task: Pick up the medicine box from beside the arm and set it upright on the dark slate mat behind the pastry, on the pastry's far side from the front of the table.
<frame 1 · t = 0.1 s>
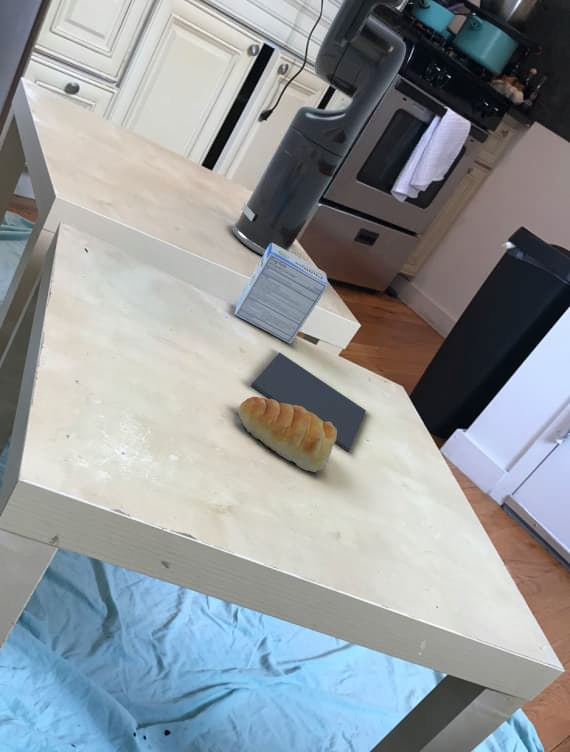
hand: (296, 17, 64), 29 cm above the table, tool pointing down, fingers open, 8 cm apart
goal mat: (310, 400, 81), on the table
medicine box: (261, 325, 92), on the table
pastry: (282, 445, 70), on the table
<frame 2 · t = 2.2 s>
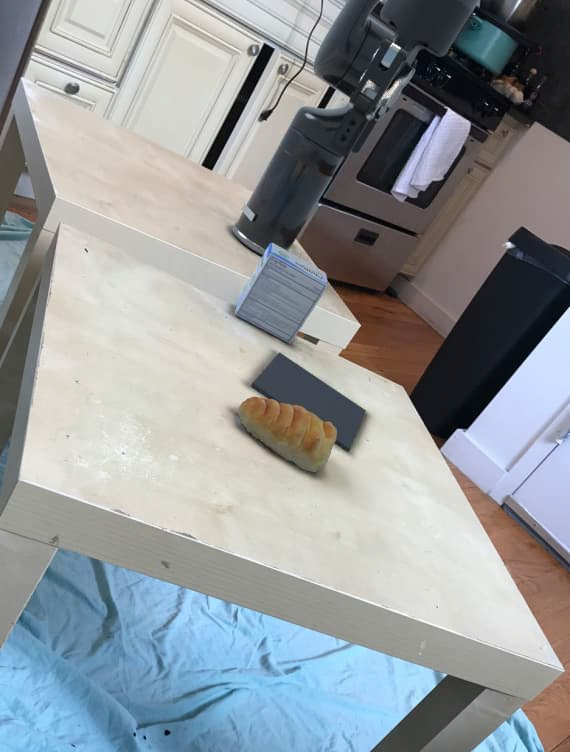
hand: (343, 150, 78), 21 cm above the table, tool pointing down, fingers open, 8 cm apart
nothing on the table moved.
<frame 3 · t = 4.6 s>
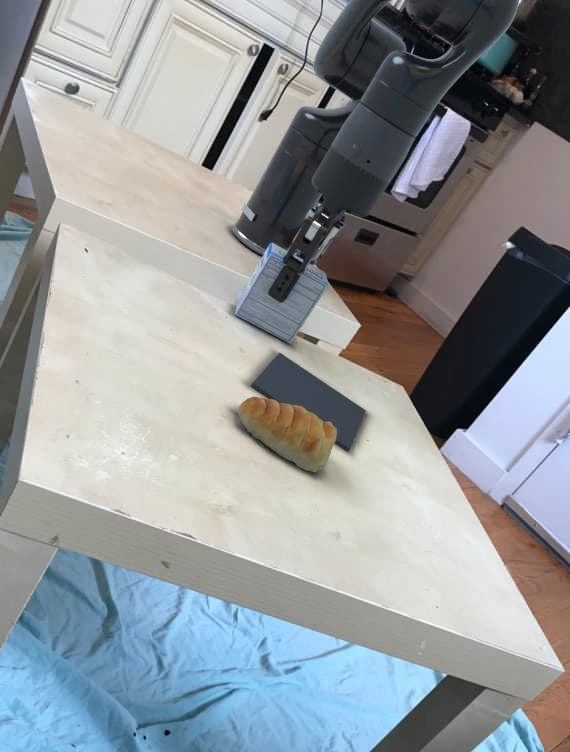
hand: (281, 293, 89), 4 cm above the table, tool pointing down, fingers closed on medicine box, 5 cm apart
medicine box: (261, 325, 92), on the table, touching gripper
everything else where it was.
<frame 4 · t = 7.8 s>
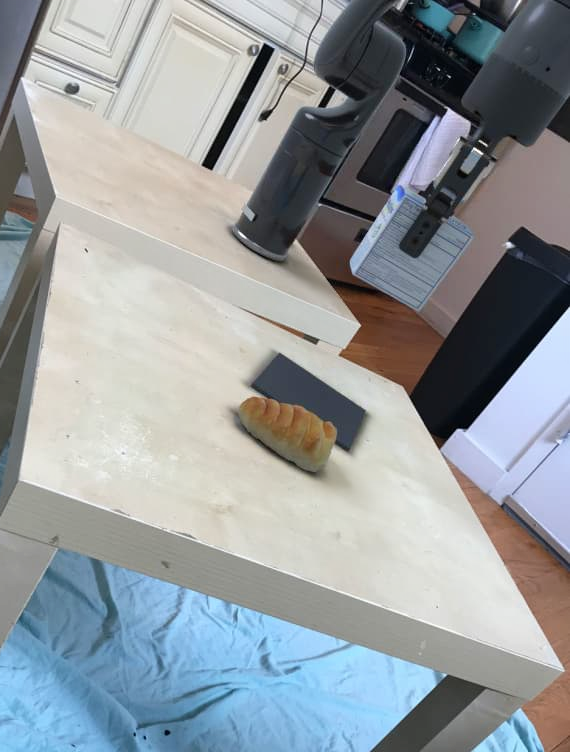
hand: (410, 248, 72), 18 cm above the table, tool pointing down, fingers closed on medicine box, 5 cm apart
medicine box: (381, 289, 74), point 14 cm above the table, touching gripper
everything else where it was.
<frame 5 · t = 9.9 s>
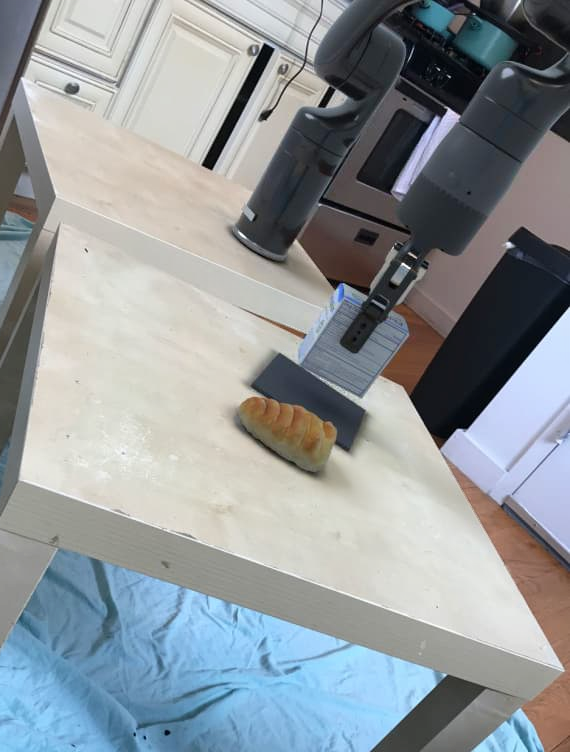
hand: (352, 340, 77), 8 cm above the table, tool pointing down, fingers closed on medicine box, 5 cm apart
medicine box: (327, 376, 79), point 3 cm above the table, touching gripper
everything else where it was.
when the fingers open (5 cm above the table, at t = 11.2 s): medicine box stays where it is, resting on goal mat.
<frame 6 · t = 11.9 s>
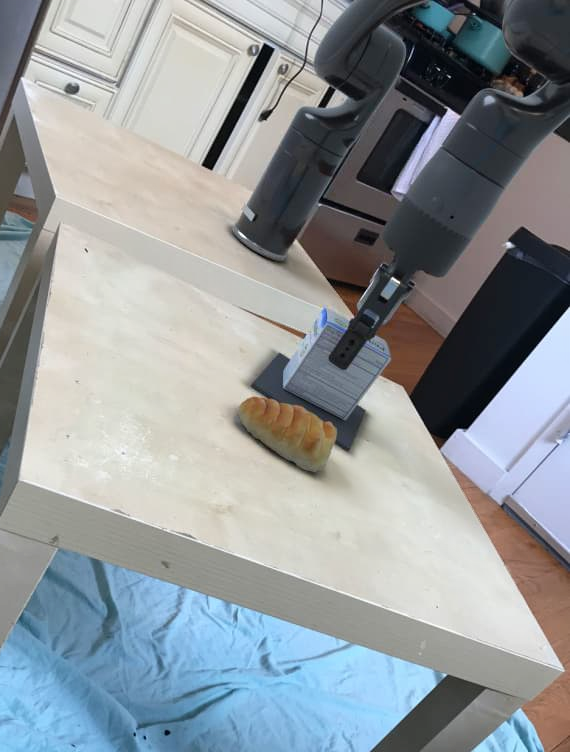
hand: (343, 353, 78), 6 cm above the table, tool pointing down, fingers open, 8 cm apart
medicine box: (311, 398, 81), resting on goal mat
everything else where it was.
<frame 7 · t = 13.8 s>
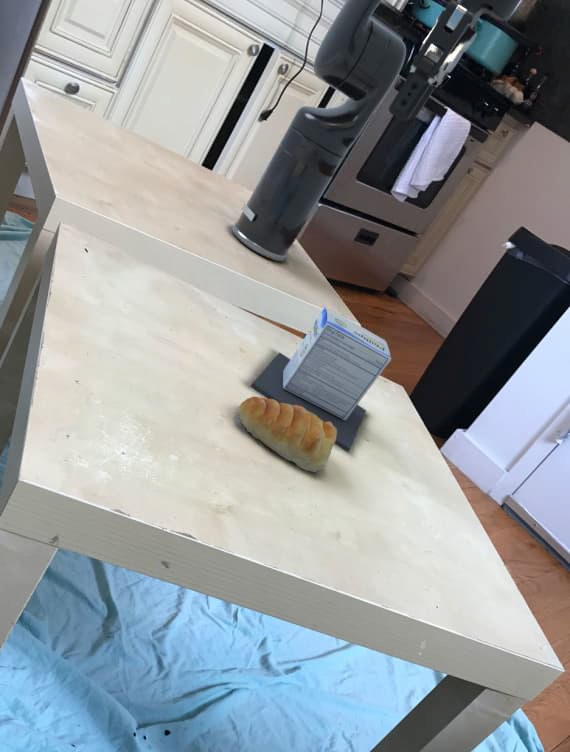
hand: (400, 116, 78), 27 cm above the table, tool pointing down, fingers open, 8 cm apart
nothing on the table moved.
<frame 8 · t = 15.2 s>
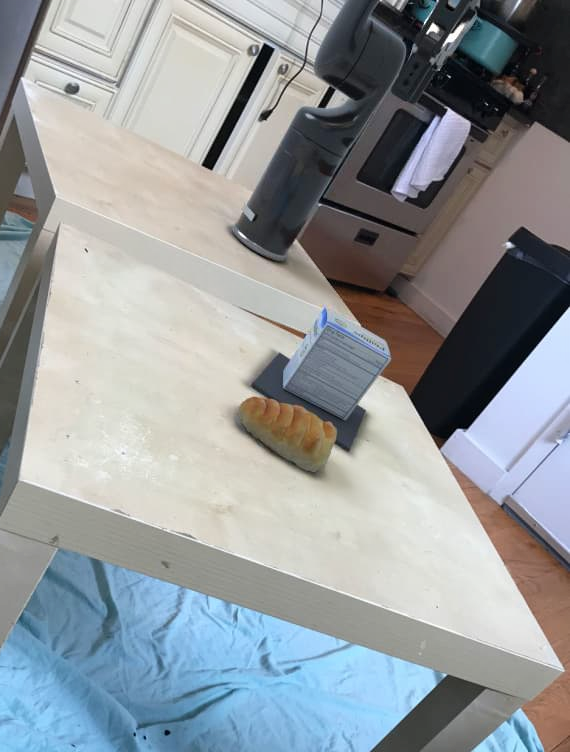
hand: (402, 99, 79), 28 cm above the table, tool pointing down, fingers open, 8 cm apart
nothing on the table moved.
at the end: medicine box inside the target area on the table beside the pastry (0.4 cm from its centre), resting on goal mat; medicine box tilted 0°; the gripper is holding nothing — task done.
